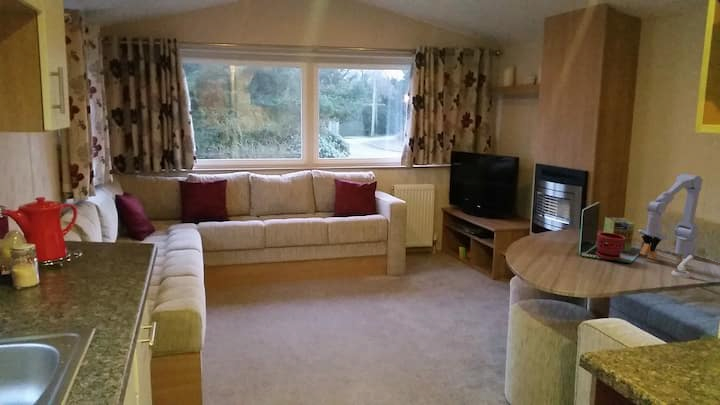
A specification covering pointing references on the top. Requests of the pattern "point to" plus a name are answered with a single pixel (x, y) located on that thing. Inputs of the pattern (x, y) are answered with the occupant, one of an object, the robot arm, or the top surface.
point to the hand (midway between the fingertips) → (649, 250)
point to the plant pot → (610, 245)
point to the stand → (665, 258)
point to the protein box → (620, 229)
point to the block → (647, 249)
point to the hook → (682, 268)
